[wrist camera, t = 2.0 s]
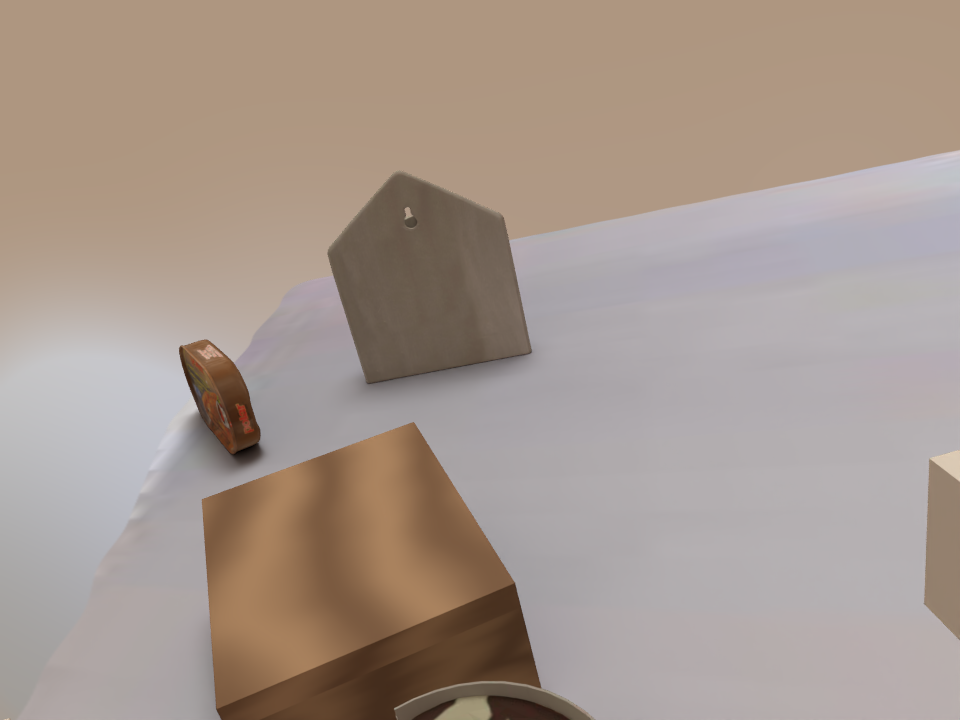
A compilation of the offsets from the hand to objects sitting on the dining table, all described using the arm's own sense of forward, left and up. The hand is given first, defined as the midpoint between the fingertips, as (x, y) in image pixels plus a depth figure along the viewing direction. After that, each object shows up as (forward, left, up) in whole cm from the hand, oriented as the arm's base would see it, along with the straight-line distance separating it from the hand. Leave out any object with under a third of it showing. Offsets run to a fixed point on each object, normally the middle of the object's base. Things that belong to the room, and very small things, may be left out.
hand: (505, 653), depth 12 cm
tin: (+8, -64, -25) cm, 69 cm away
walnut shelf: (+2, -30, -25) cm, 39 cm away
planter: (-14, -65, -25) cm, 71 cm away
